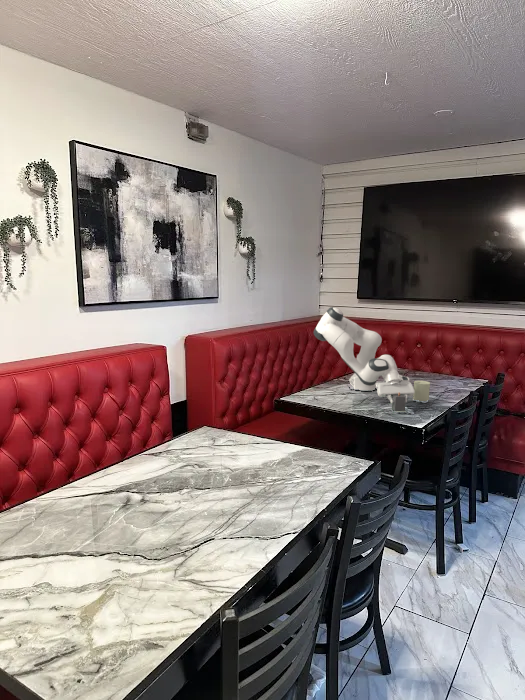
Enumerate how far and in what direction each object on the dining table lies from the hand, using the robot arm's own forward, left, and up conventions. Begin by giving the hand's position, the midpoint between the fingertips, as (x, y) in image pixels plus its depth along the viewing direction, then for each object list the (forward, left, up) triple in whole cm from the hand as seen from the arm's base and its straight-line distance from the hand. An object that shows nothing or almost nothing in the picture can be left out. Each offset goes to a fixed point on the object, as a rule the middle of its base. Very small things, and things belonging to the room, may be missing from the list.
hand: (399, 402), depth 247 cm
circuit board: (-5, 0, -5) cm, 8 cm away
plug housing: (-1, 0, -4) cm, 4 cm away
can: (-20, +24, -6) cm, 32 cm away
